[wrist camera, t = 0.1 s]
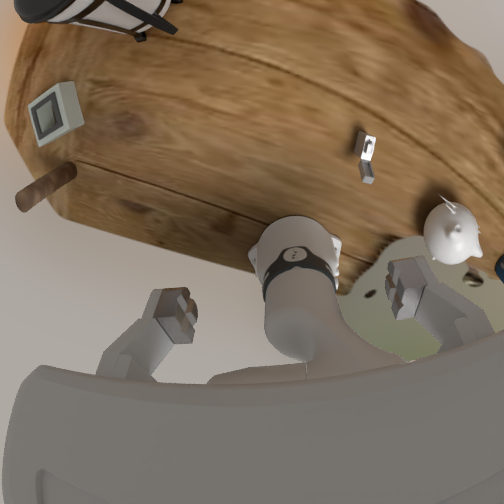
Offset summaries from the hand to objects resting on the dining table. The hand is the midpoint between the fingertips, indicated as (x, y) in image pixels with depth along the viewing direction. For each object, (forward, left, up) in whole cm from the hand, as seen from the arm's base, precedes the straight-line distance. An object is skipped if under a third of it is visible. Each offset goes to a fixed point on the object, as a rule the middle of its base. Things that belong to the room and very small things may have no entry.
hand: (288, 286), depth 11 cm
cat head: (-21, -32, -39) cm, 55 cm away
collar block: (+17, +40, -39) cm, 58 cm away
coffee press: (+29, +16, -39) cm, 51 cm away
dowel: (+4, +43, -39) cm, 58 cm away
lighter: (-5, -14, -39) cm, 42 cm away
